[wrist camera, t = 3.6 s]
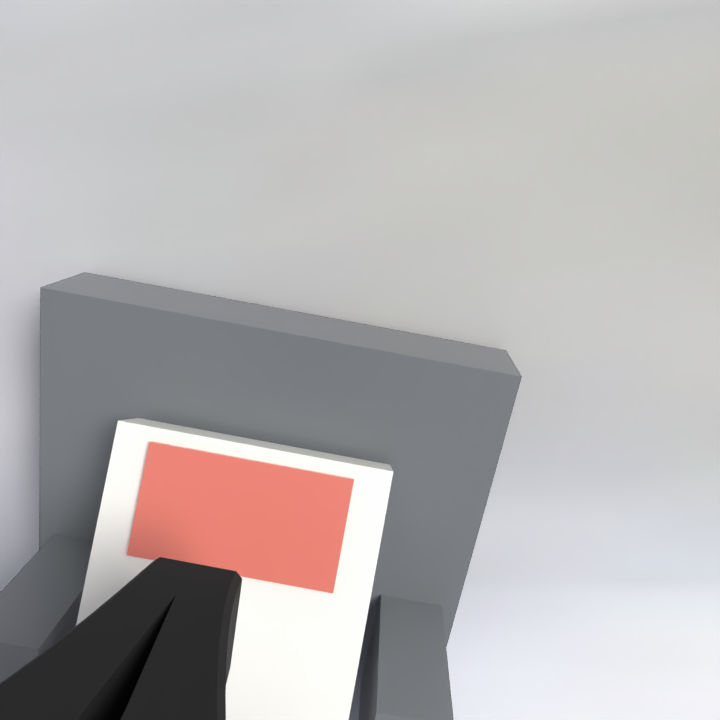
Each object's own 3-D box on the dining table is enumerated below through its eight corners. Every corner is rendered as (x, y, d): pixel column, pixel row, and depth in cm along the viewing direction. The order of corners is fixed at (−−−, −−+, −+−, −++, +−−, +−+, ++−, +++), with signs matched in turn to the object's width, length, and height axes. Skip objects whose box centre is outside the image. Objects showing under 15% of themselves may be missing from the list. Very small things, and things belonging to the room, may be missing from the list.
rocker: (293, 995, 13) (287, 1063, 12) (30, 946, 13) (-5, 1008, 12) (390, 464, 14) (393, 472, 13) (138, 418, 14) (115, 420, 13)
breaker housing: (389, 790, 20) (386, 1006, 15) (71, 731, 20) (-41, 927, 15) (506, 350, 15) (563, 445, 10) (84, 272, 15) (-78, 327, 10)
